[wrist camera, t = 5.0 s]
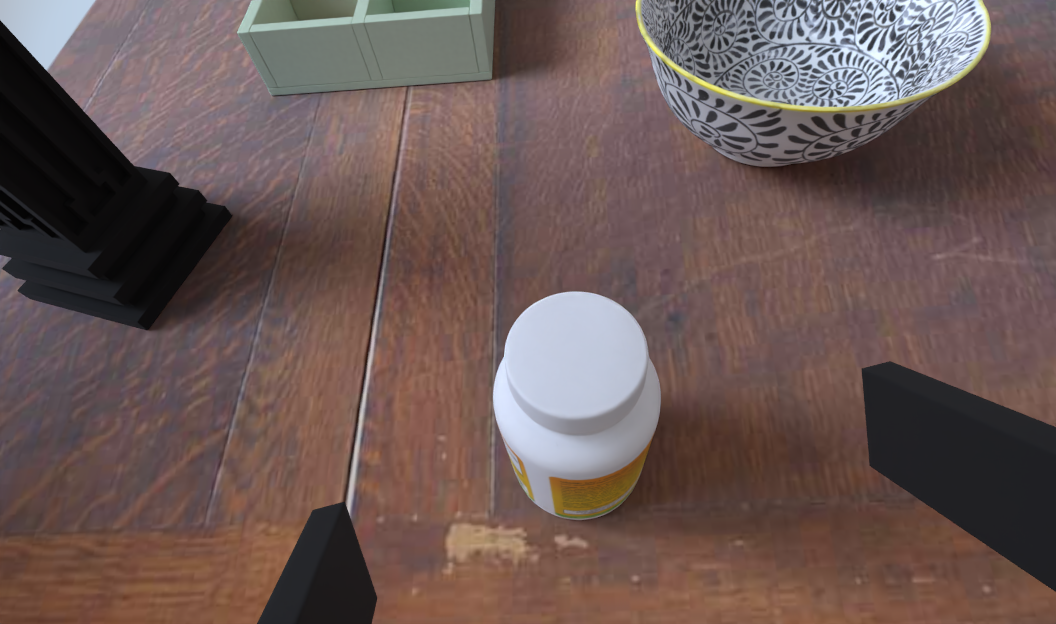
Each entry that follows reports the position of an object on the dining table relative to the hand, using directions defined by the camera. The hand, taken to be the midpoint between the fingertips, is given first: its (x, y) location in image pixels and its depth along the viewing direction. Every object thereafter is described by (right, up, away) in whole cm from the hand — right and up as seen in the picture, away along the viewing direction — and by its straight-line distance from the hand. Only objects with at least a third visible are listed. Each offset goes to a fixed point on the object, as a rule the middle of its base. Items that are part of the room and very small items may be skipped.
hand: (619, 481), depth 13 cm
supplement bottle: (0, -2, +10) cm, 10 cm away
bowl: (+12, +15, +19) cm, 27 cm away
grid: (-12, +26, +28) cm, 40 cm away
